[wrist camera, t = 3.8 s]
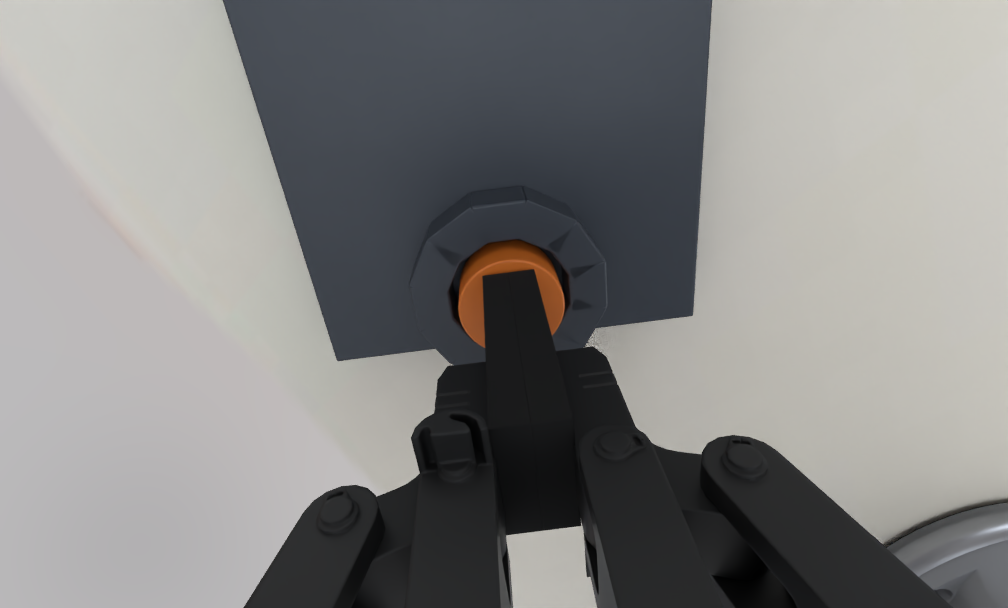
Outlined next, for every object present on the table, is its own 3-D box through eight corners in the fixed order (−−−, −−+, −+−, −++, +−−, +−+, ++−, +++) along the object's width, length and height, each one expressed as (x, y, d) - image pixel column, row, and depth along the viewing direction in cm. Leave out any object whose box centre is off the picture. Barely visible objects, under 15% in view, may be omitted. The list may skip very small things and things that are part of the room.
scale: (679, 311, 20) (710, 353, 18) (348, 353, 20) (330, 401, 18) (709, -344, 12) (775, -449, 10) (160, -270, 12) (74, -354, 10)
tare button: (559, 320, 18) (567, 347, 16) (467, 332, 18) (466, 360, 16) (553, 232, 16) (561, 252, 15) (452, 245, 16) (450, 267, 15)
